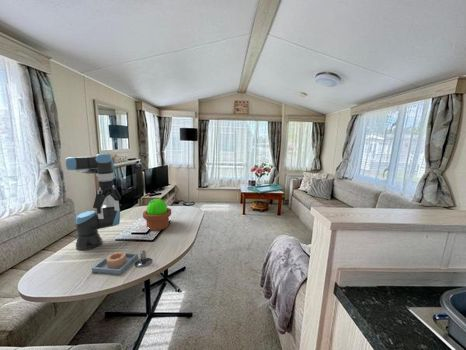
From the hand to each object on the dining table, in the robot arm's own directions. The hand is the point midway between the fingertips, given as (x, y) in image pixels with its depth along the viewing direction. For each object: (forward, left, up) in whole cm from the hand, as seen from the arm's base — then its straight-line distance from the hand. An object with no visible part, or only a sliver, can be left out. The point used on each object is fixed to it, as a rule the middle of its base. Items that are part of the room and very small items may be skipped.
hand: (109, 214), depth 126 cm
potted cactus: (-48, +5, -29) cm, 56 cm away
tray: (+7, +7, -29) cm, 30 cm away
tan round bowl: (+7, +7, -28) cm, 30 cm away
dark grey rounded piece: (+3, +22, -29) cm, 36 cm away
